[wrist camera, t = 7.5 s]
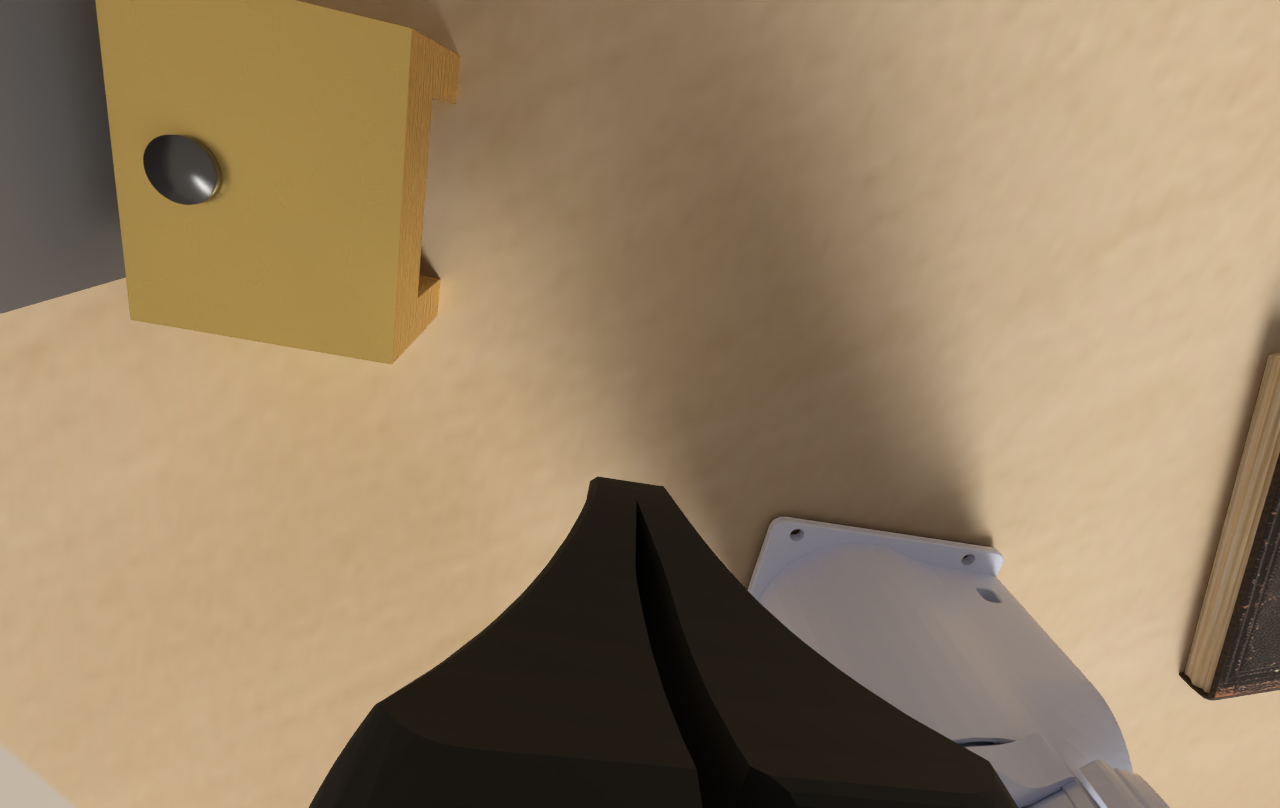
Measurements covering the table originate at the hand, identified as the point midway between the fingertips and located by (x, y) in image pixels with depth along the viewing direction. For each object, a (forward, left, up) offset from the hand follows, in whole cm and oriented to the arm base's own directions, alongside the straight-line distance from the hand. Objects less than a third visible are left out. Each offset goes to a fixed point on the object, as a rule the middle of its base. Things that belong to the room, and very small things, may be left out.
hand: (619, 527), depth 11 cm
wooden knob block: (+9, -4, -10) cm, 14 cm away
